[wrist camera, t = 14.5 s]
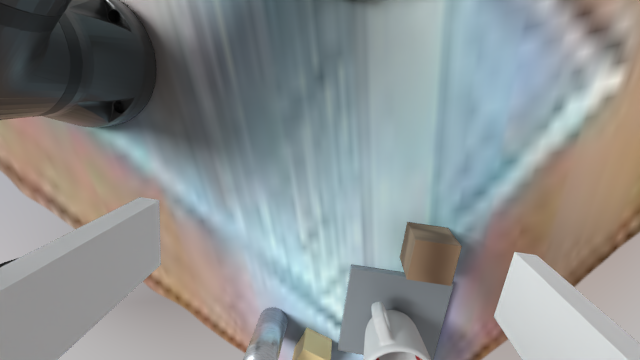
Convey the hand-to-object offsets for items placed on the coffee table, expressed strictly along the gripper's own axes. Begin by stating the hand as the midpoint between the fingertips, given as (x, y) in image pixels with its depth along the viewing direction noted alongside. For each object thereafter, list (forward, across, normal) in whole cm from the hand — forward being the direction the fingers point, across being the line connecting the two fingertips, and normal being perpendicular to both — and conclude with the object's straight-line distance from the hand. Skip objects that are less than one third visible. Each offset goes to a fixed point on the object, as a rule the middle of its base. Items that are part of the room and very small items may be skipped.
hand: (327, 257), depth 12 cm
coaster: (+27, +10, -22) cm, 36 cm away
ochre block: (+27, 0, -29) cm, 39 cm away
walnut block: (+27, +12, -11) cm, 31 cm away
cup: (+26, +9, -22) cm, 35 cm away
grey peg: (+27, -6, -26) cm, 38 cm away
